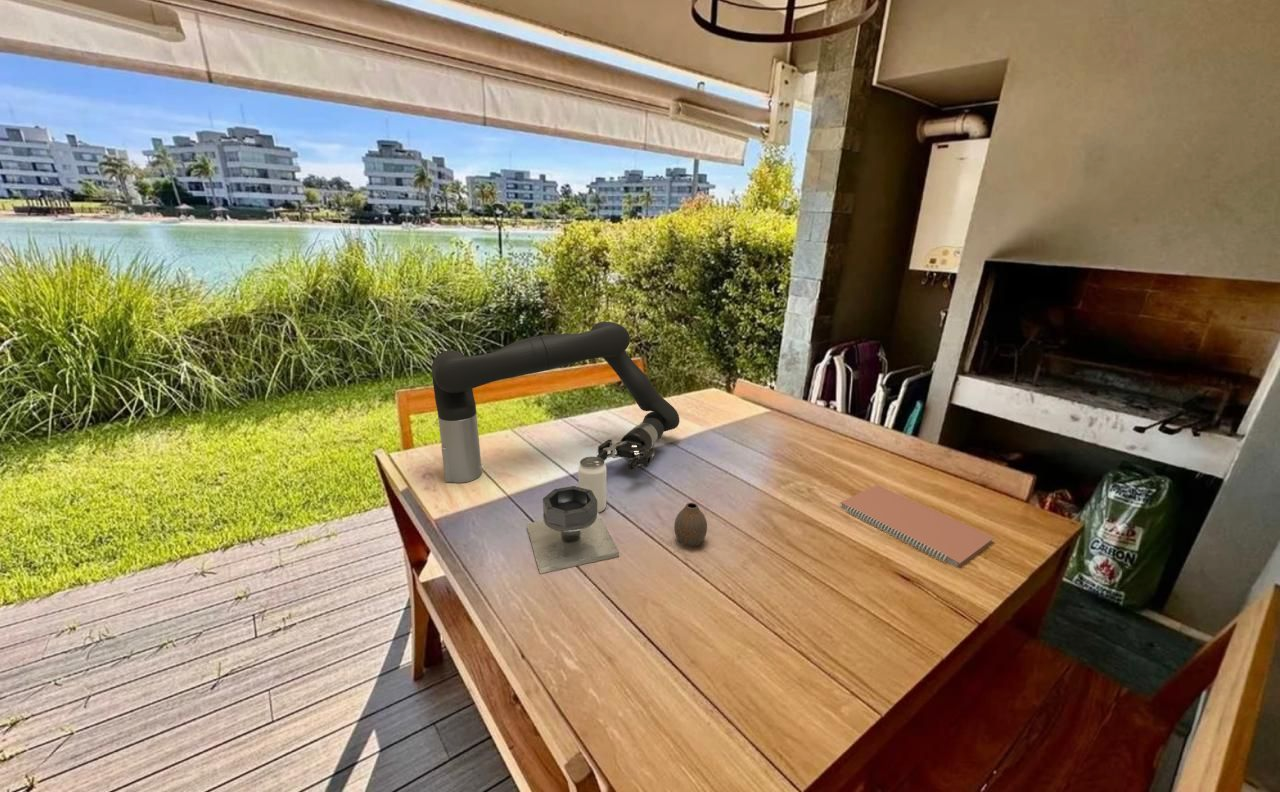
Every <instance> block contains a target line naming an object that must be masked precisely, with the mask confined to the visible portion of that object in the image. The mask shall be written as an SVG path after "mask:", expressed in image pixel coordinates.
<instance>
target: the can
mask: <svg viewBox="0 0 1280 792" xmlns="http://www.w3.org/2000/svg"><path fill="white" fill-rule="evenodd" d="M577 472H578V487H580V488H584V489H588V490H592V492H593V494H594V496H595V497H596V499H597V512H598V513H601V512H603V511H604V510H605V509H606V508H607V465H606V463H605V461H604V460H603V459H602V458H600V457H597V456H594V455H593V456H592V455H591V456H585V457H583V458H582V459H581V460H580V461H579V465H578V471H577Z"/></svg>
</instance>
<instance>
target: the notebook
mask: <svg viewBox="0 0 1280 792" xmlns="http://www.w3.org/2000/svg"><path fill="white" fill-rule="evenodd" d="M839 504H841V505H840V506H839V508H841V509H843V510H844V511H846V512H845V513H846V514H849V515H851V517H853V516H854V518H856V517H857V518H856V519H858V520H860V521H862V522H863V523H864V522H865V523H866V524H868V525H870V524H871V527H874V528H876V527H877V530H880V531H882V532H883V533H885V534H887V535H888V536H892V537H893V538H895V539H897V538H898V541H901V542H902V543H903V542H904V544H907V545H908V546H910V545H911V546H910V547H911V548H913V547H914V549H917V551H920V550H921V553H924V555H928V556H931V558H934V557H935V558H934V559H935V560H937V559H938V561H939V562H941V560H942V564H945V562H946V563H947V564H950V565H951V566H953V567H955V568H957V569H959V568H962V567H963V566H964V565H965V564H966V563H968V562H969V561H970V560H972V559H973V558H974V557H975V556H977V555H978V554H980V553H981V552H982V551H984V550H985V549H987V548H988V547H989V546H991V544H993V543H994V542H993V541H992V540H994V539H995V536H992V535H991V534H988V533H986V532H984V531H981V530H979V529H976V528H974V527H972V526H970V525H968V524H965V523H963V522H961V521H959V520H956V519H955V518H953V517H949V516H948V515H946V514H943V513H940V512H938V511H937V510H934V509H932V508H929V507H928V506H925V505H923V504H920V503H918V502H916V501H915V500H912V499H909V498H907V497H905V496H903V495H901V494H899V493H896V492H894V491H893V490H889V489H888V488H885V487H883V486H880V485H878V484H876V485H873V486H872V487H870V488H869V487H868V488H867V489H865V490H863V491H861V492H859V493H857V494H854V495H853V496H851V497H849V498H846V499H844V500H842V501H840V502H839Z"/></svg>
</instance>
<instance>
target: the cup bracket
mask: <svg viewBox="0 0 1280 792" xmlns="http://www.w3.org/2000/svg"><path fill="white" fill-rule="evenodd" d="M542 512H543V513H542V514H543V520H537V521H533V522H529V523H526V530H527V532H528V536H529V540H530V543H531V547H532V550H533V553H534V558H535V561H536V564H537V568H538V571H539V574H540V575H541V574H545V573H549V572H554V571H559V570H564V569H568V568H572V567H577V566H582V565H587V564H590V563H591V564H592V563H595V562H599V561H604V560H609V559H614V558H617V557H620V551H619V549H618V547H617V545H616V543H615V541H614V540H613V538H612V536H611V534H610V532H609V530H608V529H607V526H606V524H605V523H604V520H603V519H602V517H601V515H600V514H599V513H600V512H599V513H598V512H597V499H596V497H595V496H594V494H593V492H592V490H588V489H584V488H580V487H579V486H576V485H570V486H566V487H559V488H554V489H553V490H551V491H550V492H549V493H548V494H546V495H545V496H544V497H543V498H542Z"/></svg>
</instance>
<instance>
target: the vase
mask: <svg viewBox="0 0 1280 792" xmlns="http://www.w3.org/2000/svg"><path fill="white" fill-rule="evenodd" d="M707 521H708V520H707V518H706V515H704V513H703V512H702V510H701V509H700V508H699V505H698V504H697V503H695V502H688V503H686V504H685V506H684V508H682V509H681V510H680V511H679V512H678V513H677V514H676V517H675V519H674V524H673V525H674V527H673V528H674V529H673V530H674V534H675V537H676V538H677V541H679V543H680V544H682V545H684V546H685V547H696V546H698V545H700V544H701V543H702V542H703V541H704V540H705V537H706V535H707V532H708V522H707Z"/></svg>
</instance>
